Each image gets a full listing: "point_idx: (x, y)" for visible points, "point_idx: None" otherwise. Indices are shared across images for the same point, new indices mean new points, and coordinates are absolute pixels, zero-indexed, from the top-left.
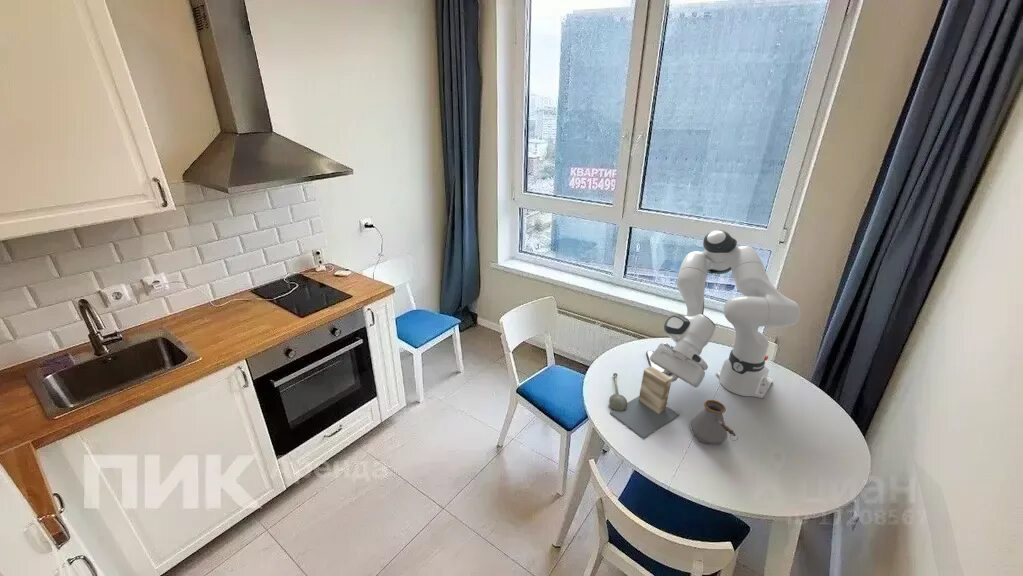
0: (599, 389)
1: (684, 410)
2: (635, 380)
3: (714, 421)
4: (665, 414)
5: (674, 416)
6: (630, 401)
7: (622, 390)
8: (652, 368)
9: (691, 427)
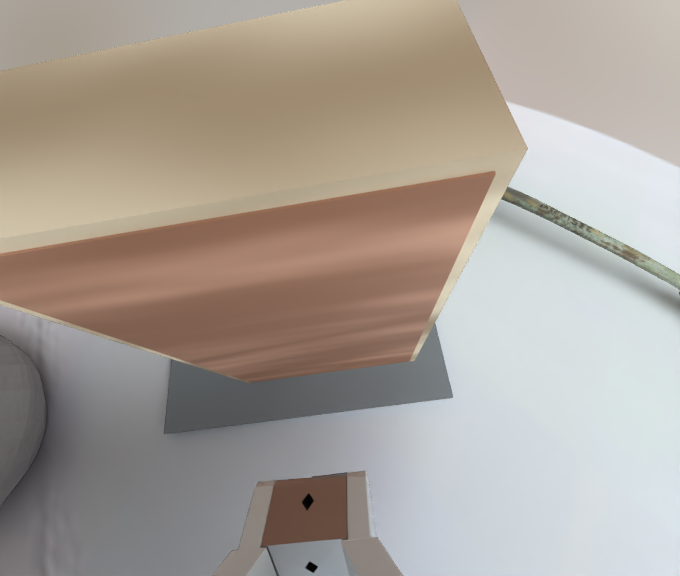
0: (582, 166)
1: (172, 525)
2: (640, 458)
3: None
4: None
5: (175, 385)
6: None
7: (535, 276)
8: (411, 122)
9: (7, 344)
